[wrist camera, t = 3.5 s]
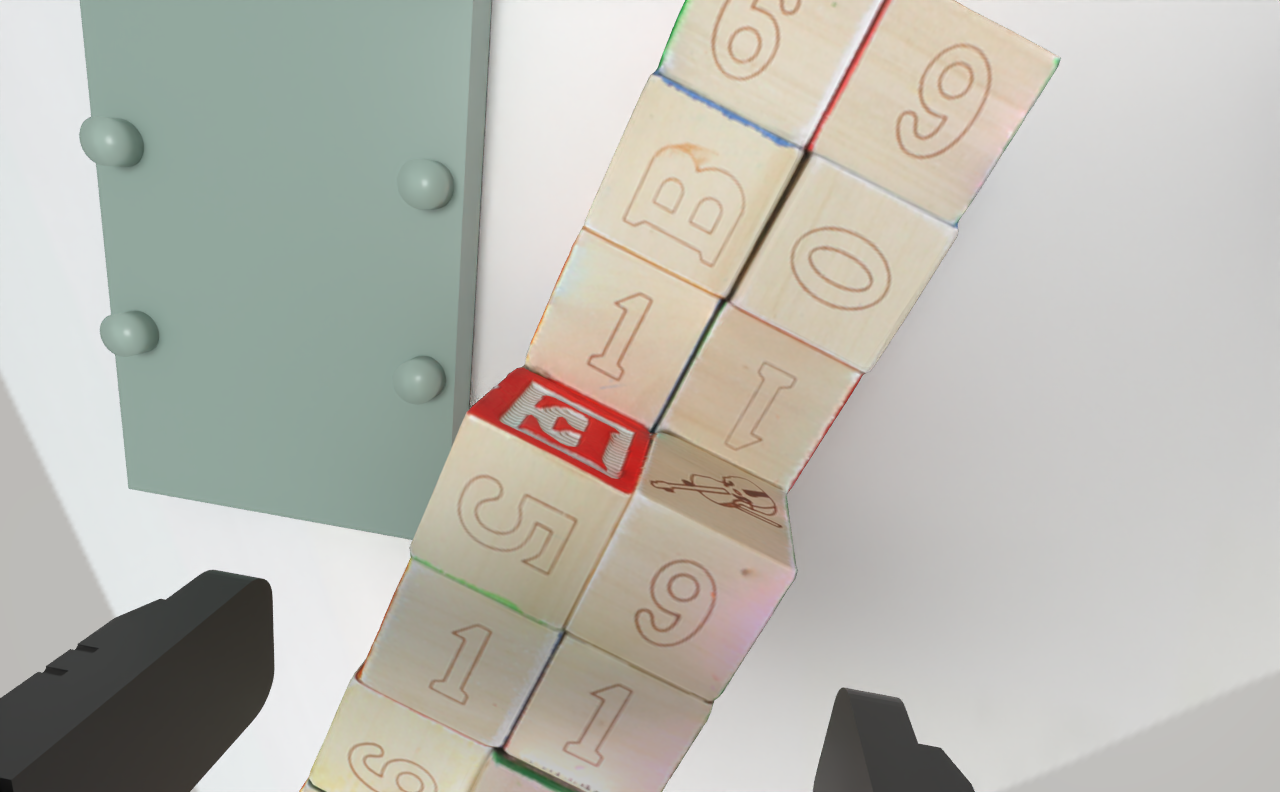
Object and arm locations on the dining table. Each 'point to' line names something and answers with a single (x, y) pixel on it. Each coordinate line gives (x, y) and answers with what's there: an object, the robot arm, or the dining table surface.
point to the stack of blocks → (678, 396)
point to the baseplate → (290, 245)
